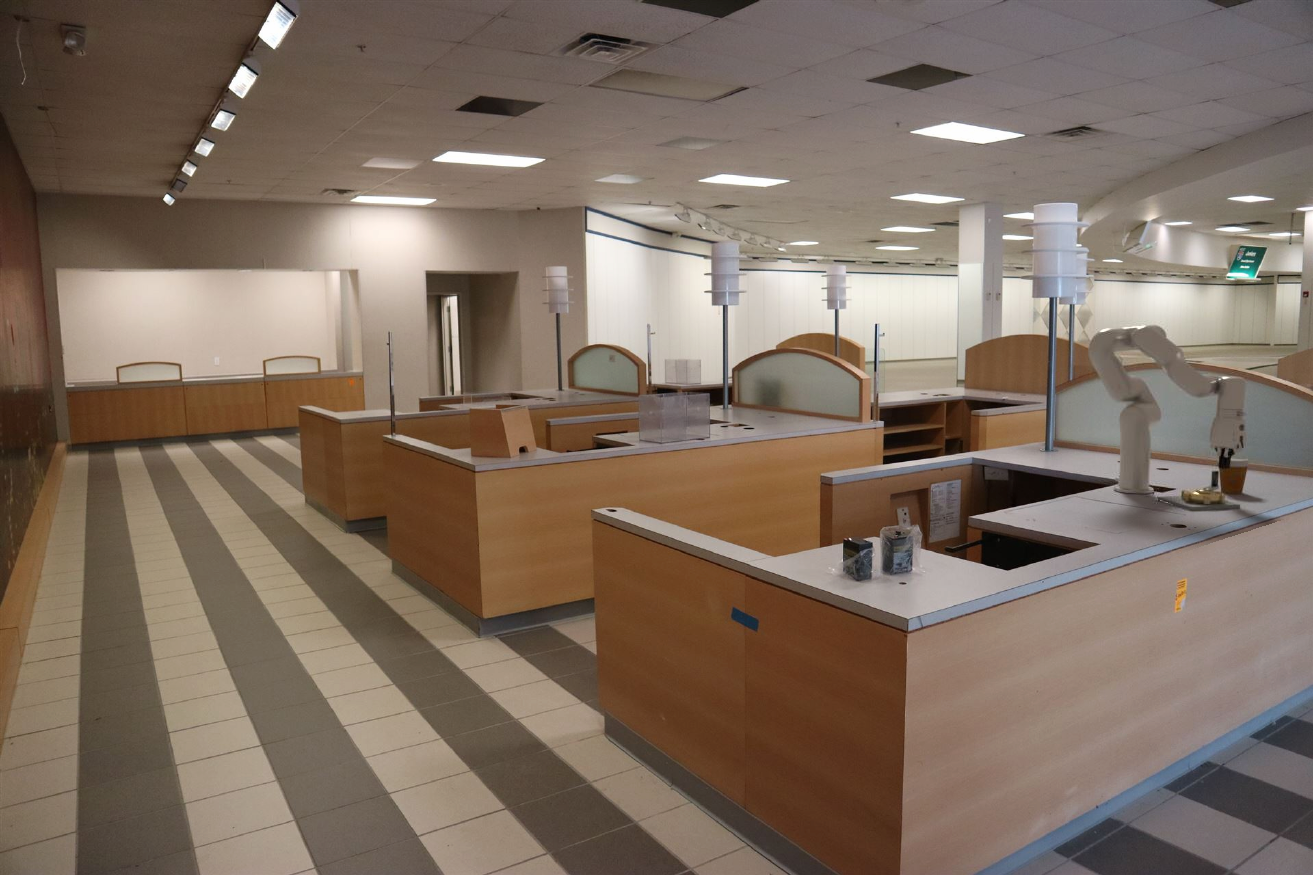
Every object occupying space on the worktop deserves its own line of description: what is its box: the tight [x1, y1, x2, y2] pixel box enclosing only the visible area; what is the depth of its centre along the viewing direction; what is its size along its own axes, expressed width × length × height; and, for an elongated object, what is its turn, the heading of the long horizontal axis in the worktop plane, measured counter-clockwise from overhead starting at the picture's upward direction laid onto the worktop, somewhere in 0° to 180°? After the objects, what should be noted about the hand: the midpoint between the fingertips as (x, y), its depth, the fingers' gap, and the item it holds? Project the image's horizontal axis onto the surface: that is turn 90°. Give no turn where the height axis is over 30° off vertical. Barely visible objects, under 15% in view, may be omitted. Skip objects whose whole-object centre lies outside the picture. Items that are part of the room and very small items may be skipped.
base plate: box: [1156, 495, 1241, 512], centre depth 298 cm, size 17×17×1 cm
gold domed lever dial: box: [1180, 470, 1226, 504], centre depth 298 cm, size 17×12×9 cm
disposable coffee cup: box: [1217, 456, 1250, 495], centre depth 314 cm, size 10×10×12 cm
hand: (1223, 468), depth 299 cm, fingers closed
